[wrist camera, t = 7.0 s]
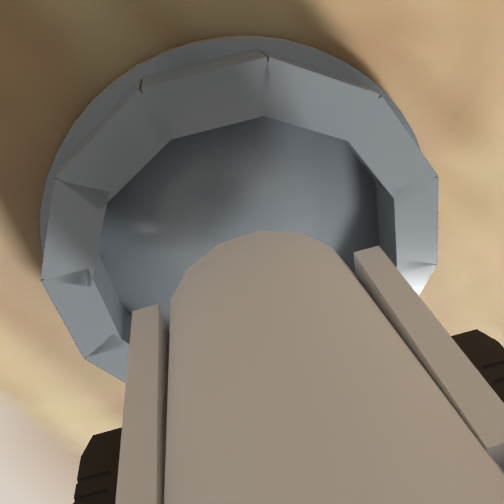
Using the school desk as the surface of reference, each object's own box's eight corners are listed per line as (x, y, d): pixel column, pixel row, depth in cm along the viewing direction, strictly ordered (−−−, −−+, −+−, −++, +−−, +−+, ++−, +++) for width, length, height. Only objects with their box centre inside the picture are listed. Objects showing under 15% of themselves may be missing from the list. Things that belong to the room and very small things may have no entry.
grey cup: (376, 197, 13) (797, 629, 4) (365, 372, 16) (591, 804, 8) (130, 236, 12) (68, 836, 4) (173, 410, 16) (193, 926, 7)
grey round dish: (-37, 97, 14) (-71, 119, 12) (416, -14, 14) (458, -12, 12) (125, 406, 21) (121, 452, 19) (420, 326, 22) (447, 362, 20)
